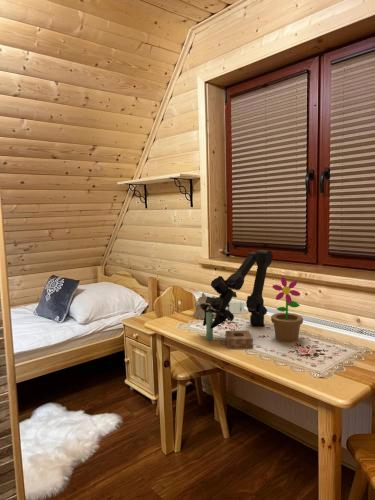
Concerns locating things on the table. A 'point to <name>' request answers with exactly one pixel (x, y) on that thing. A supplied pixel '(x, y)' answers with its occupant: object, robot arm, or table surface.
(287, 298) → the flowerpot
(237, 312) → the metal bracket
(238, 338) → the hole block
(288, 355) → the table surface
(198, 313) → the ceramic cottage
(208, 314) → the peg
